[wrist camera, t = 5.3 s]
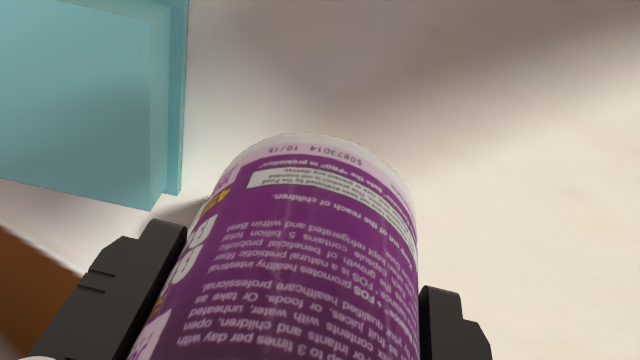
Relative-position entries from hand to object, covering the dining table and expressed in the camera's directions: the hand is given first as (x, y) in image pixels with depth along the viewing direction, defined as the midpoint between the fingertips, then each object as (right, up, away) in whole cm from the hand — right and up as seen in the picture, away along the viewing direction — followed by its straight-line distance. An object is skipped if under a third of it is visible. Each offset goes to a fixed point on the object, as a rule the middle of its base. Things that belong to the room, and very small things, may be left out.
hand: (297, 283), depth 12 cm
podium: (-12, +7, +14) cm, 20 cm away
